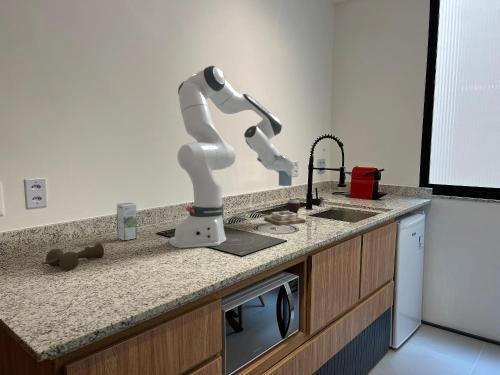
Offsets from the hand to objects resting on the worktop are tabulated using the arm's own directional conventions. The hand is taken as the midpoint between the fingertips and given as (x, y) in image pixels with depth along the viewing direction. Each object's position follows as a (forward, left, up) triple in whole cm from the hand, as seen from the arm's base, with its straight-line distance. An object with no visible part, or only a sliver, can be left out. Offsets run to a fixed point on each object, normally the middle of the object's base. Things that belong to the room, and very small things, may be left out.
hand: (286, 174), depth 187 cm
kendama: (-97, -29, -24) cm, 104 cm away
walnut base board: (-1, 0, -23) cm, 23 cm away
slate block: (-1, 0, -5) cm, 5 cm away
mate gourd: (+13, +15, -24) cm, 31 cm away
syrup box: (-77, -3, -24) cm, 80 cm away
